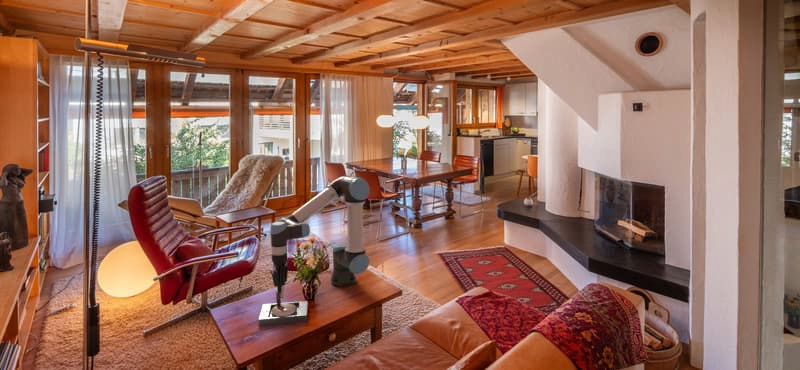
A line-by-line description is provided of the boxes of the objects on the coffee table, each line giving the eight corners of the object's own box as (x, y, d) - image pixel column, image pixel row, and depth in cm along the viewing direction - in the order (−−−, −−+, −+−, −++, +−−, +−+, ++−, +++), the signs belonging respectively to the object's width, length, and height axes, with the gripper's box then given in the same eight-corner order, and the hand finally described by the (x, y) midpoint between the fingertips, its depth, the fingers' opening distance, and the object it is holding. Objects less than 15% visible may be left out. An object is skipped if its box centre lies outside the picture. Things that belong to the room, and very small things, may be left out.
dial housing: (307, 307, 215) (307, 300, 214) (306, 321, 199) (306, 314, 199) (263, 310, 211) (263, 303, 210) (258, 326, 195) (258, 318, 195)
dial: (301, 312, 205) (300, 295, 203) (279, 320, 196) (278, 303, 195) (288, 304, 213) (287, 288, 212) (266, 312, 205) (266, 295, 203)
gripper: (280, 248, 213) (282, 291, 217) (264, 256, 201) (266, 301, 205) (293, 250, 211) (294, 293, 215) (277, 258, 199) (279, 304, 203)
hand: (281, 297), depth 210 cm, fingers closed
